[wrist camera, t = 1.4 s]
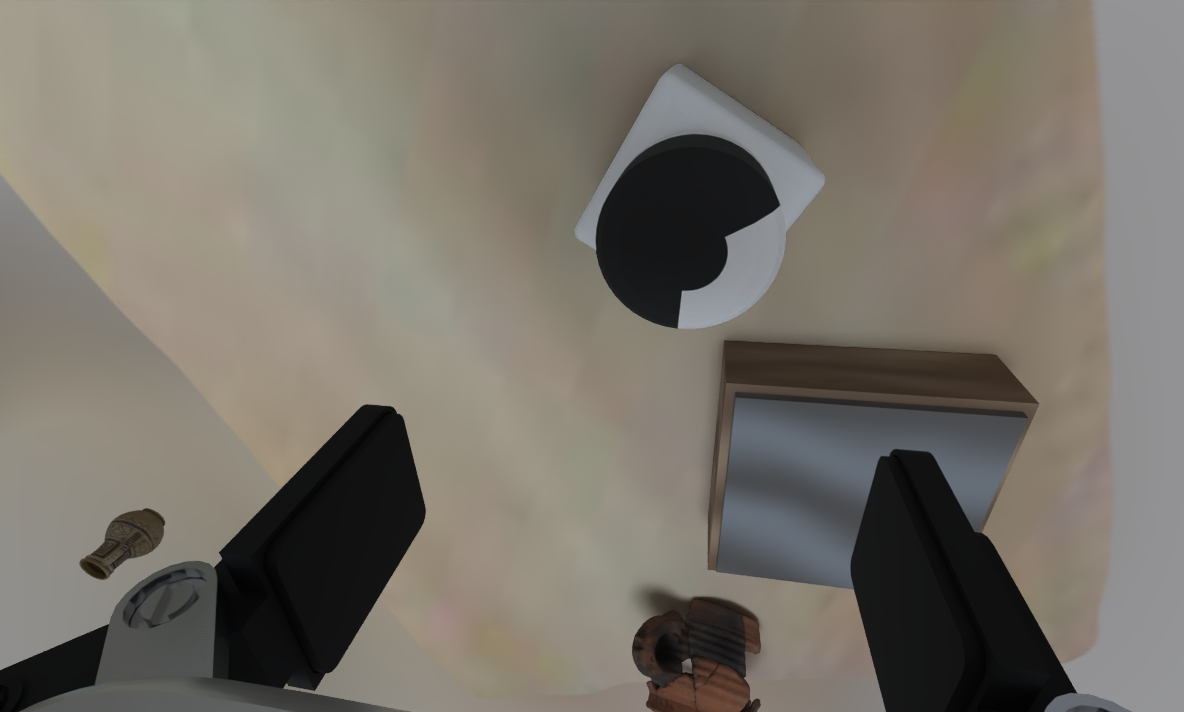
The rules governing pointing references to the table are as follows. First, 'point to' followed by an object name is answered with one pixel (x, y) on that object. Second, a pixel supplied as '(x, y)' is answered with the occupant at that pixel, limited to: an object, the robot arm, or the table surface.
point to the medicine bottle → (696, 206)
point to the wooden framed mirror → (846, 447)
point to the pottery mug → (697, 659)
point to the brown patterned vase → (125, 542)
